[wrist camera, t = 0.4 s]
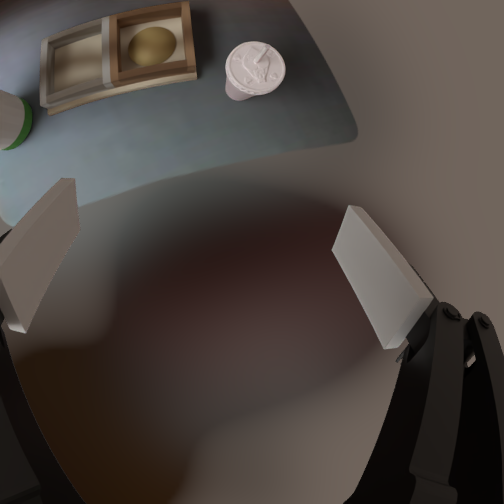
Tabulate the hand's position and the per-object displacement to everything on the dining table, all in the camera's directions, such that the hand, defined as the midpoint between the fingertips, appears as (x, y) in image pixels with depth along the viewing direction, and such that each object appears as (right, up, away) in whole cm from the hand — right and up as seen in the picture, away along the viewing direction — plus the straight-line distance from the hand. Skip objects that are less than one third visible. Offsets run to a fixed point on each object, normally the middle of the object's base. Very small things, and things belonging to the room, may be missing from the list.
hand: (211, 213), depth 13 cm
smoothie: (0, +20, +22) cm, 30 cm away
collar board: (-16, +25, +16) cm, 34 cm away
